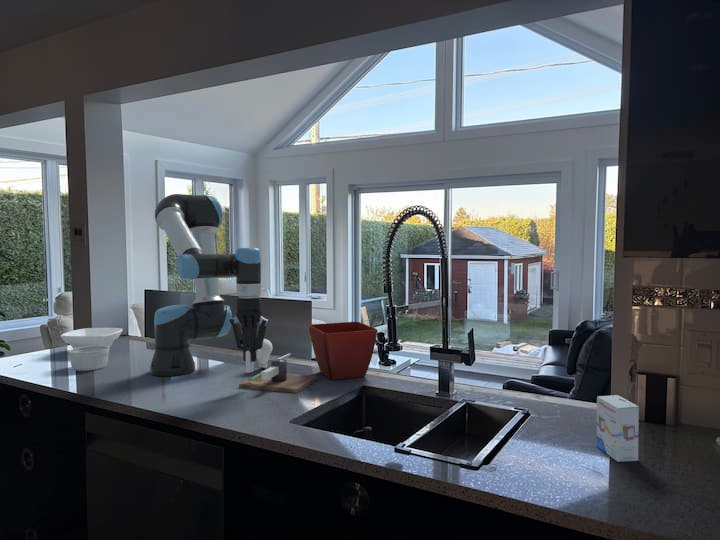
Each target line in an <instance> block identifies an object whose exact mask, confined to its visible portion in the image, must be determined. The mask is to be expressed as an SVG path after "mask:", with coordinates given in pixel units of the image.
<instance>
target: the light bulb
mask: <svg viewBox="0 0 720 540" xmlns="http://www.w3.org/2000/svg"><path fill="white" fill-rule="evenodd" d="M272 352H273V344H272V342H271V341H270V340H269V339H267V338H264V340H263V345H262V348H261V349H258V350H257V351H256V358H257V360H258V363H259V365H258V367H259V368H260V369H261V370H262V369H263V370H266V368H268V362H269V357H270V355H271V354H272Z"/></svg>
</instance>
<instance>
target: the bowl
mask: <svg viewBox="0 0 720 540" xmlns="http://www.w3.org/2000/svg"><path fill="white" fill-rule="evenodd" d="M122 332H123V328H119V327H88V328H87V327H86V328H79V329H75V330H70V331H67V332H63V334H61V335H60V338H61V339H62V340H63V341H64V343H65V344H69V345H70V347H71V348H72V349H75V348H79V347H86V346H108V347H109V349H110V348H111V346H112V345H113V343H114V341H115V340H117V339H119V337H120V335H121V334H122Z"/></svg>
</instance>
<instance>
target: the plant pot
mask: <svg viewBox="0 0 720 540" xmlns="http://www.w3.org/2000/svg"><path fill="white" fill-rule="evenodd" d="M308 328H309V335H310V340H311V346H312V349H313V352H314V355H315V360H316V363H317V366H318V368H319V371H320V372H321V374H323V375H324V376H325V377H326V378H328V379H329V380H331V381H335V380H337V381H338V380H345V379H352V378H353V379H354V378H362V377H366V376H367V373H368V370H369V367H370V364H371V361H372V358H373V353H374V349H375V345H376V342H377V341H376V340H377V334H378V329H377V328H374V327H372V326H369V325H367V324H365V323H363V322H361V321H345V322H343V321H342V322H341V321H340V322H328V323H314V324H309V325H308Z"/></svg>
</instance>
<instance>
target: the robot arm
mask: <svg viewBox="0 0 720 540" xmlns="http://www.w3.org/2000/svg"><path fill="white" fill-rule="evenodd" d="M223 217H224V215H223V208H222V205H221V202H220V201H219V200H218V198H217V197H215V196H211V195H206V194H204V195H202V194H201V195H199V194H183V193H174V194H170V195H167V196H165V197H163V198H162V199H161V200H160V201H159V202H158V203H157V204H156V207H155V209H154V219H155V222H156V225H157V226H158V227H159V228H160V229H161V230H162V231H164V232H165V235H166V236H167V239H168V240H169V242H170V244H171V245H172V247H173V250H174V252H175V253H176V255H177V259H176V265H175V266H176V267H175V268H176V270H177V272H176V273H177V275H178V277H179V278H180V279H190V280H194V289H195V300H194V301H193V302H192V304H191V305H192V307H190V305H189V304H186V303H183V304H173V305H168V306H164V307H160V308H159V309H157V310H156V311H155V313H154V320H153V321H154V322H153V324H154V354H153V357H152V360H151V364H150V367H149V374H150V375H151V376H156V377H177V376H183V375H188V374H191V373H194V372H195V371H196V362H195V359H194V357H193V354H192V352H191V348H190V346H191V345H190V343H191V341H196V340H205V339H207V340H208V339H216V338H220V337H221V338H222V337H225V336H226V335H228V333H229V331H230V329H231V326H232V330H233V333H234V339H235V344H236V347H237V349H238V350H241V351H242V359H243V361H244V362H245V373H249V374H250V373H253V372H254V371H255V362H256V361H257V355H256V351H257V350H258V349H261V348H262V345H263V340H264V339H265V335H266V330H267V326H268V324H270V323H269V322H270V320H269V318H265V317H263V313H262V297H260V296H262V283H261V281H262V276H261V275H262V273H261V272H262V264H261V263H262V259H261V257H262V256H261V250H260V249H259V248H258V247H238V248H236V250H235V253H222V254H221V253H219V254H218V253H217V250H216V237H215V234H216V233H217V232H218V231H219V227H220V226H221V225H222V223H223ZM219 278H236V296H237V298H236V309H237V312H236V315H235V316H234V317H233V316H232V315H233V314H232V313H233V312H232V310H231V307H230V306H229V305H227V304H225V299H224V298H222V297H221V294H220V293H221V292H220V282H219ZM258 324H259V326H258ZM257 330H258V331H257Z"/></svg>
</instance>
